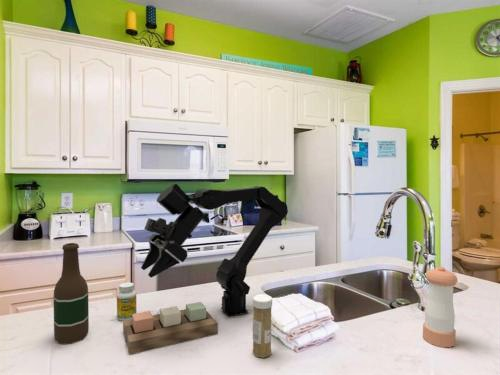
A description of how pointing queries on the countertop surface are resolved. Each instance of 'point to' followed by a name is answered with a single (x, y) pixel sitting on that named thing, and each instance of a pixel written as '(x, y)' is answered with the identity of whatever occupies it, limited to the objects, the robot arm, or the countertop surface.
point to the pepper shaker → (440, 308)
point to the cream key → (170, 316)
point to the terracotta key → (142, 321)
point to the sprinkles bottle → (262, 325)
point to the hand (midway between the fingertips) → (145, 272)
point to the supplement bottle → (126, 301)
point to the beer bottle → (70, 300)
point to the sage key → (195, 311)
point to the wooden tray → (168, 333)
